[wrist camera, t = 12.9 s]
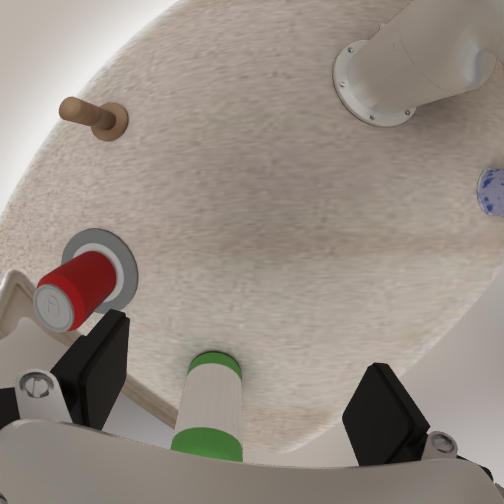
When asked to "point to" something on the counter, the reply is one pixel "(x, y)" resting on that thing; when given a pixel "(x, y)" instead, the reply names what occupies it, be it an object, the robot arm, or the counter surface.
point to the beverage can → (74, 291)
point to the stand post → (96, 117)
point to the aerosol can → (491, 191)
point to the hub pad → (117, 256)
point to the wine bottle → (211, 409)
